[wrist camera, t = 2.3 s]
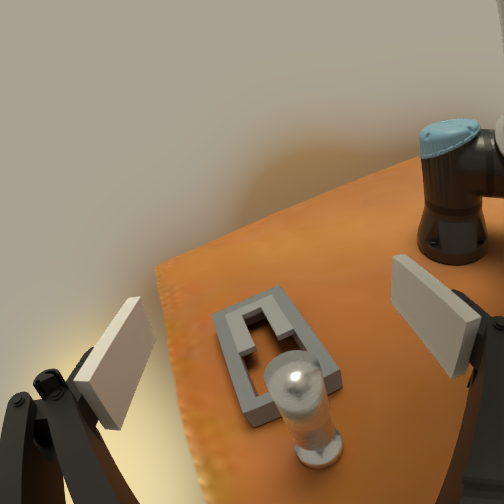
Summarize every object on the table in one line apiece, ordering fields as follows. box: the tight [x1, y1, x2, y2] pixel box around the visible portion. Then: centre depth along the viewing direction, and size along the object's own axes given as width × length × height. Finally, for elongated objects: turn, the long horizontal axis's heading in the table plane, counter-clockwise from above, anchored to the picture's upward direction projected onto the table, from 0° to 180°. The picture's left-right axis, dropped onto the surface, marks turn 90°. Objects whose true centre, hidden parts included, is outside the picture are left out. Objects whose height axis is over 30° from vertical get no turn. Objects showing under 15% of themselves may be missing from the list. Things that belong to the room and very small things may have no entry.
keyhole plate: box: [211, 285, 343, 428], centre depth 41 cm, size 20×12×4 cm, turn 17°
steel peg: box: [264, 350, 343, 469], centre depth 23 cm, size 5×5×16 cm
